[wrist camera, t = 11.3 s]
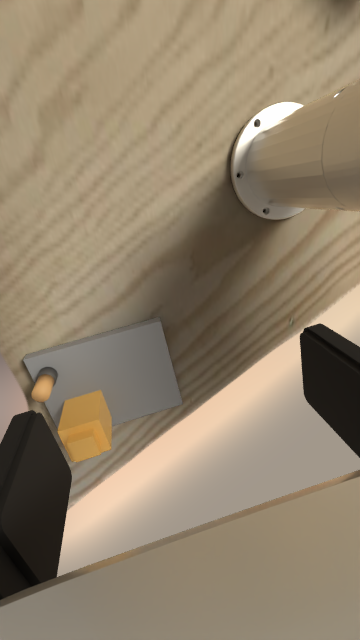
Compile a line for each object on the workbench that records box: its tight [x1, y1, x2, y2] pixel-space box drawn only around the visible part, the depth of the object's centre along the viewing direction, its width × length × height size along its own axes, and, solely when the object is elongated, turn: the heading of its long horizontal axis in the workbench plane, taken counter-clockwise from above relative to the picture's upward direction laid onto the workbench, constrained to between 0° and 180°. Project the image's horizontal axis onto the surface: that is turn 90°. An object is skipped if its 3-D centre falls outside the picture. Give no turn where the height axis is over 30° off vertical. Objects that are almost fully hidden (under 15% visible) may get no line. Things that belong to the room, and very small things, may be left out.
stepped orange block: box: [57, 390, 112, 462], centre depth 40 cm, size 5×5×8 cm
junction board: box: [23, 317, 183, 429], centre depth 41 cm, size 18×14×6 cm
